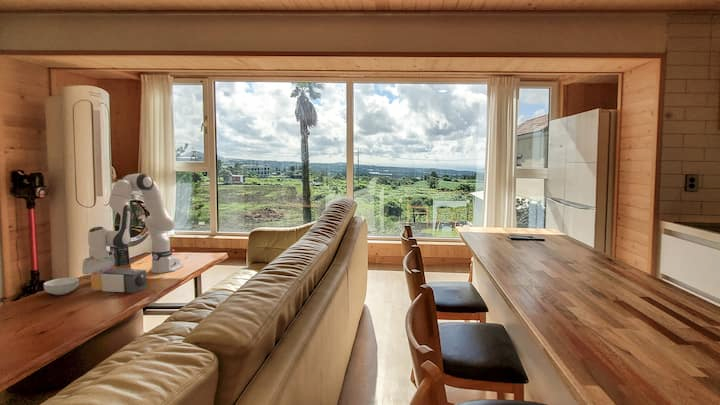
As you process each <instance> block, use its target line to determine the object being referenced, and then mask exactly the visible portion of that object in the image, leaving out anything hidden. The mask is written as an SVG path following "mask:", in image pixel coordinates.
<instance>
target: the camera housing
mask: <svg viewBox="0 0 720 405" xmlns="http://www.w3.org/2000/svg"><path fill="white" fill-rule="evenodd" d="M105 274H110V275H124V286H125V292H124V293H129V294H135V293H138V292H140V291H142V290H145V289H147V288H148V286H147V283H148V282H147V270H146V269H136V268H131V269H128V268H117V269H114V270H110V271H107V272H105Z"/></svg>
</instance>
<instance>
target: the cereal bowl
mask: <svg viewBox="0 0 720 405" xmlns="http://www.w3.org/2000/svg"><path fill="white" fill-rule="evenodd" d="M79 284H80V279H79V278H78V277H61V278H56V279H51V280H48V281H45V282H43V289H44V291H45V292H46V293H48V294H53V295H54V296H62V295H67V294H69V293H71V292H72V291H74V290H76V289H77V288H78V286H79Z"/></svg>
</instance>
